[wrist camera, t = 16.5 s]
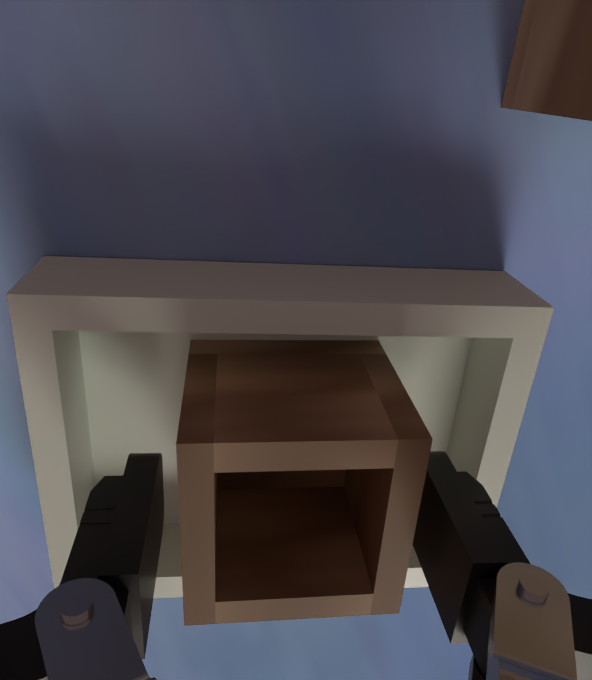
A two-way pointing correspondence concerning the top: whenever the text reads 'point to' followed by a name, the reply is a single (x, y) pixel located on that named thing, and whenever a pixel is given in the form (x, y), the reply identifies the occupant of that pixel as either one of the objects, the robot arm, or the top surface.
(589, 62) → the oak block
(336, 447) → the walnut block
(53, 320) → the tray
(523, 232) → the top surface
